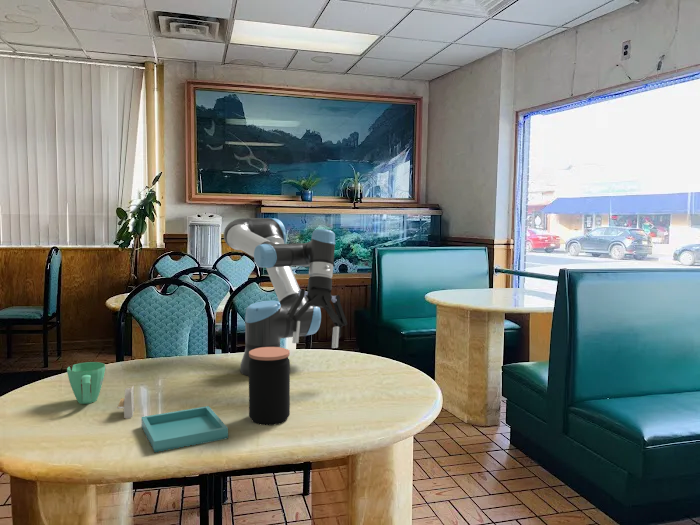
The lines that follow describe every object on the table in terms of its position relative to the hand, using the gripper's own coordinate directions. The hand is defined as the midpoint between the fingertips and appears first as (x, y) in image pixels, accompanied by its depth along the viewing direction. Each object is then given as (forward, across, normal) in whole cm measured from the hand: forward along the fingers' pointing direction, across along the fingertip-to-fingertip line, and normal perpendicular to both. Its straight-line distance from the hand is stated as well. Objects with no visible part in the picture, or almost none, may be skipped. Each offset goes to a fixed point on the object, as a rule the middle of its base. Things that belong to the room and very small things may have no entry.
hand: (315, 345), depth 172 cm
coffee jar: (+22, -18, -12) cm, 31 cm away
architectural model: (+24, -50, +9) cm, 56 cm away
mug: (+21, -59, +22) cm, 66 cm away
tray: (+26, -40, -10) cm, 48 cm away
